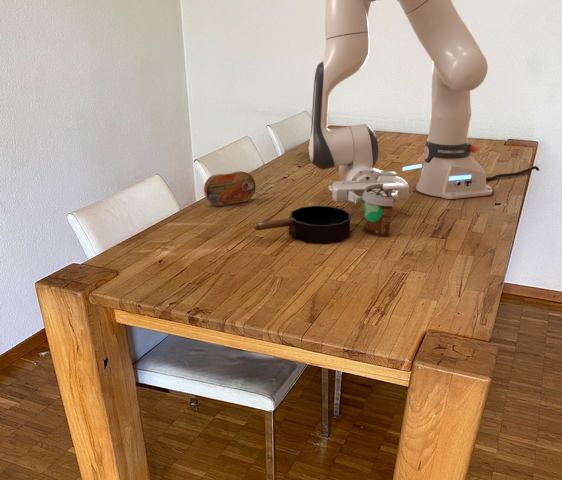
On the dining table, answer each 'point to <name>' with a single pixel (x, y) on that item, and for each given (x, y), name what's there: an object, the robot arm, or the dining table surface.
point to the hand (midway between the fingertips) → (377, 199)
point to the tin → (229, 188)
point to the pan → (314, 224)
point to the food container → (377, 210)
